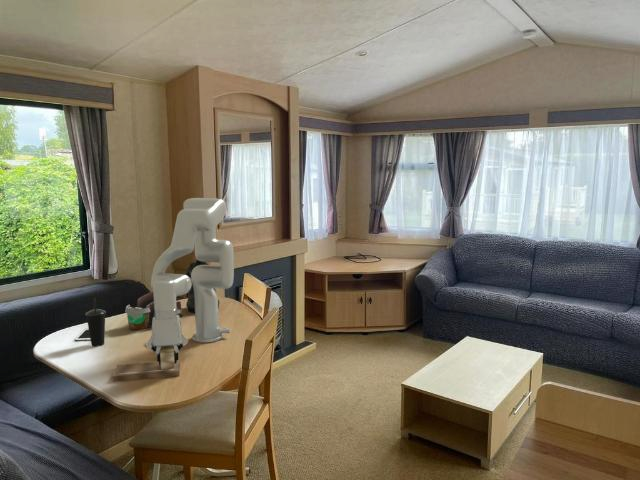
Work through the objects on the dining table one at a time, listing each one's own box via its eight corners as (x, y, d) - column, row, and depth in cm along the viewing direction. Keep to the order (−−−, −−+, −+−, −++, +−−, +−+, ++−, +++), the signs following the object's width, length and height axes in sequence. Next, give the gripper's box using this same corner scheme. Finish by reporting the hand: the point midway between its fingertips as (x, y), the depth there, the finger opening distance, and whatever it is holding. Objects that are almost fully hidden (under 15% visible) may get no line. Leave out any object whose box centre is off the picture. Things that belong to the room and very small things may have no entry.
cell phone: (73, 342, 209) (73, 340, 209) (85, 330, 224) (85, 328, 224) (93, 341, 210) (93, 339, 210) (103, 329, 225) (103, 327, 225)
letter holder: (137, 326, 228) (135, 297, 226) (165, 314, 247) (163, 286, 244) (155, 329, 225) (154, 299, 223) (182, 316, 243) (180, 288, 241)
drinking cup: (95, 349, 201) (91, 301, 197) (83, 345, 205) (80, 298, 201) (112, 343, 207) (108, 296, 204) (100, 339, 211) (97, 293, 208)
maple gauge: (175, 362, 182) (174, 344, 181) (174, 367, 178) (173, 349, 177) (162, 363, 181) (161, 345, 180) (161, 369, 177) (160, 350, 176)
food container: (120, 329, 224) (118, 307, 223) (129, 325, 230) (128, 304, 228) (141, 333, 220) (140, 311, 218) (151, 328, 225) (150, 307, 224)
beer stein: (211, 315, 245) (209, 265, 241) (175, 312, 250) (172, 263, 246) (225, 305, 261) (223, 258, 257) (191, 303, 266) (189, 257, 262)
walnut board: (180, 364, 186) (180, 359, 185) (179, 375, 176) (179, 370, 176) (117, 370, 181) (117, 364, 180) (112, 381, 171) (112, 376, 171)
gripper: (190, 309, 182) (192, 356, 185) (141, 312, 178) (144, 360, 181) (190, 315, 175) (192, 364, 178) (139, 318, 171) (142, 369, 174)
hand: (168, 362), depth 179 cm, fingers closed on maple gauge, 4 cm apart
